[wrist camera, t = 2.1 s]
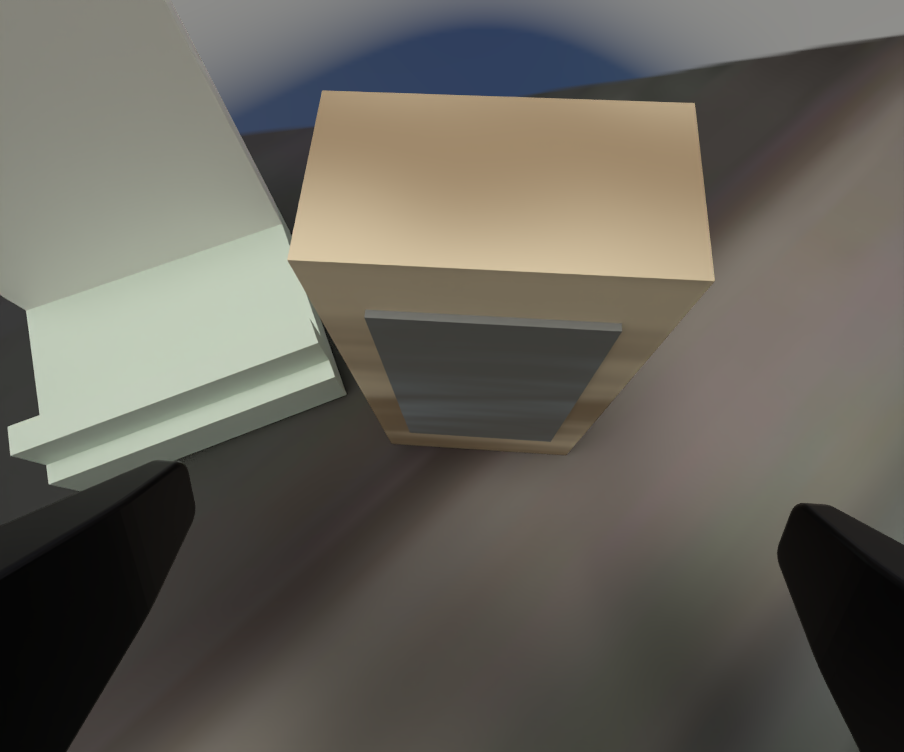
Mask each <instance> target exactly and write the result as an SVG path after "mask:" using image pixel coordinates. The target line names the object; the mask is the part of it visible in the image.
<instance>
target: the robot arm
mask: <svg viewBox="0 0 904 752" xmlns="http://www.w3.org/2000/svg"><path fill="white" fill-rule="evenodd" d="M194 515H195V501H194V497H193V492H192V487H191V482H190V478H189V473H188V469H187V467H186V465H185V464H184V463H183V462H181V461H173V460H153V461H150V462H148V463H146V464H143V465H141V466H139V467H136V468H134V469H132V470H129V471H127V472H125V473H122V474H120V475H118V476H115V477H113V478H111V479H108V480H106V481H104V482H101V483H99V484H97V485H94V486H92V487H90V488H87V489H85V490H83V491H80V492H78V493H76V494H73V495H71V496H69V497H66V498H64V499H62V500H59V501H57V502H55V503H52V504H50V505H48V506H45V507H43V508H41V509H38V510H36V511H34V512H31V513H29V514H26V515H24V516H22V517H19V518H17V519H15V520H12V521H10V522H8V523H5V524H3V525H1V526H0V752H67V750H68V748H69V747H70V745H71V743H72V742H73V740H74V738H75V737H76V735H77V733H78V732H79V730H80V728H81V727H82V725H83V723H84V722H85V720H86V718H87V717H88V715H89V713H90V712H91V710H92V708H93V707H94V705H95V703H96V702H97V700H98V698H99V697H100V695H101V693H102V692H103V690H104V688H105V687H106V685H107V683H108V682H109V680H110V678H111V676H112V675H113V673H114V671H115V670H116V668H117V666H118V665H119V663H120V661H121V660H122V658H123V656H124V655H125V653H126V651H127V650H128V648H129V646H130V645H131V643H132V641H133V640H134V638H135V636H136V635H137V633H138V631H139V630H140V628H141V626H142V624H143V623H144V621H145V619H146V617H147V616H148V614H149V612H150V610H151V608H152V606H153V604H154V602H155V600H156V598H157V596H158V594H159V592H160V590H161V588H162V586H163V584H164V581H165V579H166V577H167V575H168V573H169V571H170V569H171V567H172V564H173V562H174V560H175V558H176V556H177V554H178V552H179V549H180V547H181V545H182V543H183V541H184V539H185V537H186V535H187V532H188V530H189V528H190V526H191V524H192V522H193V519H194ZM777 556H778V562H779V566H780V568H781V571H782V574H783V576H784V579H785V582H786V584H787V587H788V589H789V592H790V595H791V597H792V600H793V603H794V605H795V608H796V611H797V613H798V616H799V618H800V621H801V624H802V626H803V629H804V632H805V634H806V637H807V640H808V642H809V645H810V647H811V650H812V652H813V655H814V657H815V660H816V662H817V664H818V667H819V669H820V671H821V673H822V675H823V678H824V680H825V682H826V684H827V686H828V688H829V690H830V692H831V694H832V696H833V698H834V700H835V702H836V704H837V706H838V708H839V710H840V712H841V714H842V716H843V718H844V720H845V722H846V724H847V726H848V728H849V730H850V732H851V734H852V736H853V738H854V740H855V742H856V745H857V747H858V749H859V751H860V752H904V545H903V544H901V543H899V542H897V541H896V540H894V539H892V538H890V537H888V536H886V535H884V534H883V533H881V532H879V531H877V530H875V529H873V528H871V527H870V526H868V525H866V524H864V523H862V522H860V521H858V520H857V519H855V518H853V517H851V516H849V515H847V514H845V513H844V512H842V511H840V510H838V509H836V508H834V507H832V506H830V505H826V504H811V503H800V504H797V505H796V506H795V507H794V508H793V509H792V511H791V513H790V516H789V518H788V521H787V524H786V526H785V529H784V532H783V534H782V537H781V540H780V542H779V545H778V551H777Z"/></svg>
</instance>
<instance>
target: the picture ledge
mask: <svg viewBox="0 0 904 752" xmlns="http://www.w3.org/2000/svg"><path fill="white" fill-rule="evenodd" d="M291 239H292V237H291V234H290V231H289V229H288V227H287V225H286V223H285V221H284V219H283V217H282V215H281V213H280V211H279V209H278V208H277V206H276V204H275V202H274V200H273V198H272V196H271V194H270V192H269V190H268V188H267V186H266V184H265V182H264V180H263V178H262V176H261V174H260V173H259V171H258V169H257V167H256V165H255V163H254V161H253V159H252V157H251V155H250V153H249V151H248V149H247V147H246V145H245V143H244V141H243V139H242V138H241V136H240V134H239V132H238V130H237V128H236V126H235V124H234V122H233V120H232V118H231V116H230V114H229V113H228V111H227V108H226V106H225V104H224V103H223V101H222V99H221V97H220V95H219V93H218V91H217V89H216V87H215V85H214V83H213V81H212V79H211V77H210V75H209V73H208V71H207V70H206V68H205V66H204V64H203V62H202V60H201V58H200V56H199V54H198V52H197V50H196V48H195V46H194V44H193V42H192V40H191V38H190V37H189V34H188V33H187V31H186V29H185V27H184V25H183V23H182V21H181V19H180V17H179V15H178V13H177V11H176V9H175V7H174V6H173V4H172V2H171V0H0V295H1V296H3V297H4V298H6V299H8V300H9V301H11V302H13V303H14V304H16V305H18V306H19V307H21V308H23V309H24V310H26V313H27V321H28V328H29V336H30V344H31V351H32V359H33V367H34V374H35V382H36V390H37V397H38V405H39V413H40V415H39V416H36V417H33V418H31V419H28V420H25V421H22V422H20V423H17V424H14V425H11V426H8V436H9V445H10V455H11V456H13V457H17V458H21V459H25V460H29V461H33V462H37V463H41V464H44V465H46V467H47V474H48V482H49V485H54V486H59V487H63V488H68V489H73V490H77V491H83V490H85V489H87V488H90V487H92V486H94V485H97V484H99V483H101V482H104V481H106V480H108V479H111V478H113V477H115V476H118V475H120V474H122V473H125V472H127V471H129V470H132V469H134V468H136V467H139V466H141V465H143V464H146V463H148V462H150V461H153V460H173V461H174V460H177V459H179V458H182V457H185V456H187V455H190V454H192V453H195V452H198V451H200V450H203V449H206V448H208V447H211V446H213V445H216V444H219V443H221V442H224V441H227V440H229V439H232V438H234V437H237V436H240V435H242V434H245V433H248V432H250V431H253V430H255V429H258V428H261V427H263V426H266V425H269V424H271V423H274V422H276V421H279V420H282V419H284V418H287V417H290V416H292V415H295V414H298V413H300V412H303V411H305V410H308V409H311V408H313V407H316V406H319V405H321V404H324V403H326V402H329V401H332V400H334V399H337V398H340V397H342V396H345V395H347V394H346V391H345V388H344V385H343V382H342V380H341V377H340V374H339V371H338V368H337V365H336V362H335V360H334V357H333V354H332V351H331V348H330V345H329V342H328V340H327V337H326V334H325V331H324V328H323V325H322V322H321V320H320V317H319V315H318V313H317V312H316V310H315V308H314V306H313V304H312V303H311V301H310V299H309V297H308V296H307V294H306V292H305V290H304V289H303V287H302V285H301V283H300V282H299V280H298V278H297V276H296V275H295V273H294V271H293V269H292V268H291V266H290V264H289V262H288V261H287V258H288V253H289V249H290V244H291Z"/></svg>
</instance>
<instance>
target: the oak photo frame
mask: <svg viewBox="0 0 904 752" xmlns="http://www.w3.org/2000/svg"><path fill="white" fill-rule="evenodd" d="M287 261H288V262H289V264H290V266H291V268H292V269H293V271H294V273H295V275H296V276H297V278H298V280H299V282H300V283H301V285H302V287H303V289H304V290H305V292H306V294H307V296H308V297H309V299H310V301H311V303H312V304H313V306H314V308H315V310H316V312H317V313H318V315H319V317H320V319H321V320H322V322H323V324H324V326H325V327H326V329H327V331H328V333H329V334H330V336H331V338H332V340H333V341H334V343H335V345H336V347H337V348H338V350H339V352H340V354H341V355H342V357H343V359H344V361H345V362H346V364H347V366H348V368H349V369H350V371H351V373H352V375H353V377H354V378H355V380H356V382H357V384H358V385H359V387H360V389H361V391H362V392H363V394H364V396H365V398H366V399H367V401H368V403H369V405H370V406H371V408H372V410H373V412H374V413H375V415H376V417H377V419H378V420H379V422H380V424H381V426H382V427H383V429H384V431H385V433H386V434H387V436H388V438H389V440H390V442H391V443H392V444H402V445H417V446H433V447H448V448H463V449H479V450H494V451H509V452H524V453H540V454H555V455H567V454H568V453H569V451H570V450H571V449H572V448H573V447H574V446H575V444H576V443H577V442H578V441H579V440H580V439H581V437H582V436H583V435H584V434H585V433H586V431H587V430H588V429H589V428H590V427H591V426H592V424H593V423H594V422H595V421H596V420H597V419H598V417H599V416H600V415H601V414H602V413H603V412H604V410H605V409H606V408H607V407H608V406H609V405H610V403H611V402H612V401H613V400H614V399H615V397H616V396H617V395H618V394H619V393H620V392H621V390H622V389H623V388H624V387H625V386H626V385H627V383H628V382H629V381H630V380H631V379H632V378H633V376H634V375H635V374H636V373H637V372H638V371H639V369H640V368H641V367H642V366H643V365H644V363H645V362H646V361H647V360H648V359H649V358H650V356H651V355H652V354H653V353H654V352H655V351H656V349H657V348H658V347H659V346H660V345H661V344H662V342H663V341H664V340H665V339H666V338H667V337H668V335H669V334H670V333H671V332H672V331H673V330H674V328H675V327H676V326H677V325H678V324H679V322H680V321H681V320H682V319H683V318H684V317H685V315H686V314H687V313H688V312H689V311H690V310H691V308H692V307H693V306H694V305H695V304H696V303H697V301H698V300H699V299H700V298H701V297H702V296H703V294H704V293H705V292H706V291H707V290H708V288H709V287H710V286H711V285H712V284H713V283H714V281H715V278H714V270H713V261H712V252H711V243H710V234H709V225H708V217H707V208H706V199H705V190H704V181H703V173H702V164H701V155H700V146H699V137H698V128H697V120H696V111H695V103H672V102H642V101H613V100H584V99H554V98H525V97H496V96H466V95H437V94H435V95H434V94H407V93H406V94H405V93H378V92H376V93H375V92H349V91H322V94H321V99H320V104H319V110H318V114H317V119H316V123H315V128H314V133H313V138H312V143H311V147H310V152H309V157H308V162H307V167H306V172H305V176H304V181H303V186H302V191H301V196H300V200H299V205H298V210H297V215H296V220H295V225H294V229H293V234H292V239H291V244H290V249H289V253H288V258H287Z"/></svg>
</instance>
